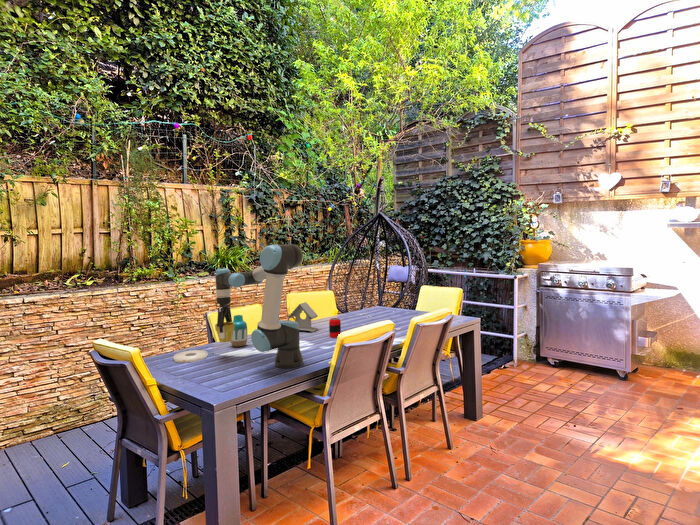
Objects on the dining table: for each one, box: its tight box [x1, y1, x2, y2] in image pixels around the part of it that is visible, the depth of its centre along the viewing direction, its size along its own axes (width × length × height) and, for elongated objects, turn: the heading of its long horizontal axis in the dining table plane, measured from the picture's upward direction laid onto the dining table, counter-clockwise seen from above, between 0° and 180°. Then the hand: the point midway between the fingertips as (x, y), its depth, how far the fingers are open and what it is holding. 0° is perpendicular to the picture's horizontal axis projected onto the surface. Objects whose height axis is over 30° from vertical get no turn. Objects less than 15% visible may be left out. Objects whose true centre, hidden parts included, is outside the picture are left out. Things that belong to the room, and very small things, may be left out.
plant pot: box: [214, 321, 235, 343], centre depth 241 cm, size 10×10×10 cm
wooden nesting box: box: [287, 301, 319, 334], centre depth 306 cm, size 18×10×20 cm, turn 68°
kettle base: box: [173, 349, 208, 364], centre depth 243 cm, size 18×18×2 cm
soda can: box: [328, 317, 342, 339], centre depth 287 cm, size 8×8×12 cm
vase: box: [230, 314, 248, 348], centre depth 266 cm, size 11×11×19 cm
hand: (225, 335), depth 241 cm, fingers closed on plant pot, 10 cm apart
